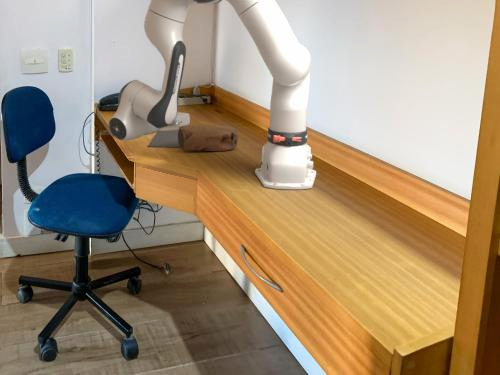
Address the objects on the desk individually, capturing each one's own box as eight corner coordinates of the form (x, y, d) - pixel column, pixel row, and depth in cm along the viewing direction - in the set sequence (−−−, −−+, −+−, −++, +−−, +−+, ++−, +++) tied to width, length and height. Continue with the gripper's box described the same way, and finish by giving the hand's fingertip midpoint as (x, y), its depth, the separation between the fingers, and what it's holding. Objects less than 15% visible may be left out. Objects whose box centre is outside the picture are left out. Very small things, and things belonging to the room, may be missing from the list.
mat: (198, 148, 211) (198, 147, 211) (147, 147, 211) (147, 146, 211) (204, 132, 234) (204, 131, 234) (157, 131, 234) (157, 130, 234)
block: (177, 123, 210) (232, 124, 216) (176, 144, 212) (230, 144, 219) (184, 132, 200) (241, 132, 207) (183, 153, 203) (239, 153, 209)
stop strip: (204, 132, 234) (204, 126, 233) (157, 131, 234) (157, 125, 233) (204, 131, 236) (204, 125, 235) (158, 130, 236) (158, 124, 235)
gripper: (175, 114, 188) (199, 107, 199) (124, 106, 197) (149, 100, 208) (176, 133, 190) (199, 125, 201) (124, 125, 199) (150, 118, 210)
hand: (174, 112), depth 205 cm, fingers closed
